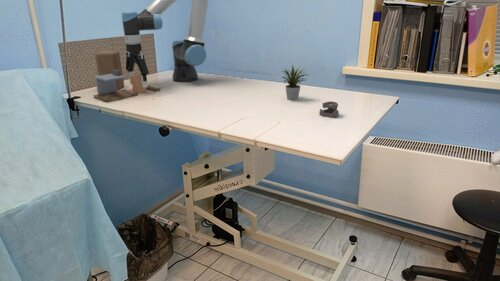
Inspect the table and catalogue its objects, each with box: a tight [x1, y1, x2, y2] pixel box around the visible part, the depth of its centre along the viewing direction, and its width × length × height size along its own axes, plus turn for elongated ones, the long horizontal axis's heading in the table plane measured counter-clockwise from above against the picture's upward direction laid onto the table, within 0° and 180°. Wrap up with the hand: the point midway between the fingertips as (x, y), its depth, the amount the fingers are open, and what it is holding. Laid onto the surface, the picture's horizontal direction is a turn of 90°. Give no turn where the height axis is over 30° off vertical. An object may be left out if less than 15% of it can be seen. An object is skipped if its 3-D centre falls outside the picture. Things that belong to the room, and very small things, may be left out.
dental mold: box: [318, 101, 339, 119], centre depth 149 cm, size 8×7×5 cm
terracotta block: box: [131, 72, 147, 94], centre depth 191 cm, size 5×5×9 cm
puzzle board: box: [93, 84, 161, 103], centre depth 188 cm, size 30×14×1 cm, turn 136°
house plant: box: [281, 64, 310, 101], centre depth 169 cm, size 14×14×16 cm
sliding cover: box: [94, 69, 126, 95], centre depth 180 cm, size 10×12×12 cm
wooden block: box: [94, 50, 125, 90], centre depth 197 cm, size 10×10×20 cm
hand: (138, 85), depth 192 cm, fingers open, 11 cm apart
